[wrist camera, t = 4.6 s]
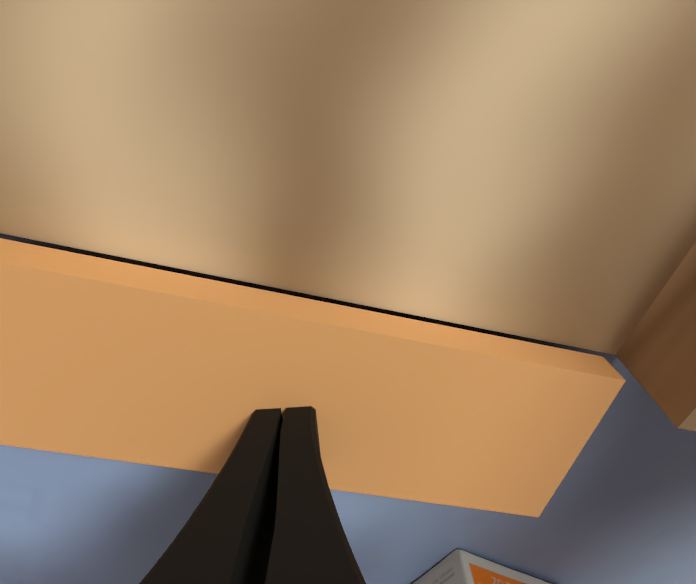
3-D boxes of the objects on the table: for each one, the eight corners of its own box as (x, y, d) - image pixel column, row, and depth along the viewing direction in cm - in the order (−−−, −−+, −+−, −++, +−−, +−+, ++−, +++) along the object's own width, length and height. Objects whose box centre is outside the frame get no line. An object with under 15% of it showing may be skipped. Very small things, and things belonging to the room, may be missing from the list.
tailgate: (625, 380, 11) (538, 517, 13) (591, 343, 12) (517, 472, 14) (-62, 249, 9) (-30, 440, 11) (-6, 224, 10) (12, 396, 12)
